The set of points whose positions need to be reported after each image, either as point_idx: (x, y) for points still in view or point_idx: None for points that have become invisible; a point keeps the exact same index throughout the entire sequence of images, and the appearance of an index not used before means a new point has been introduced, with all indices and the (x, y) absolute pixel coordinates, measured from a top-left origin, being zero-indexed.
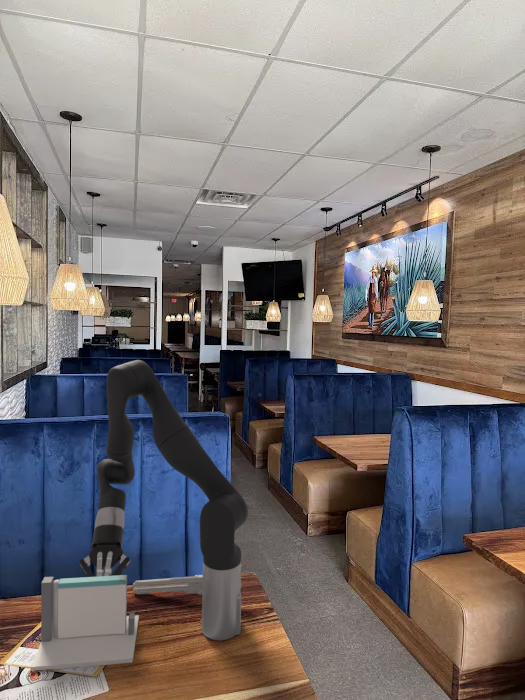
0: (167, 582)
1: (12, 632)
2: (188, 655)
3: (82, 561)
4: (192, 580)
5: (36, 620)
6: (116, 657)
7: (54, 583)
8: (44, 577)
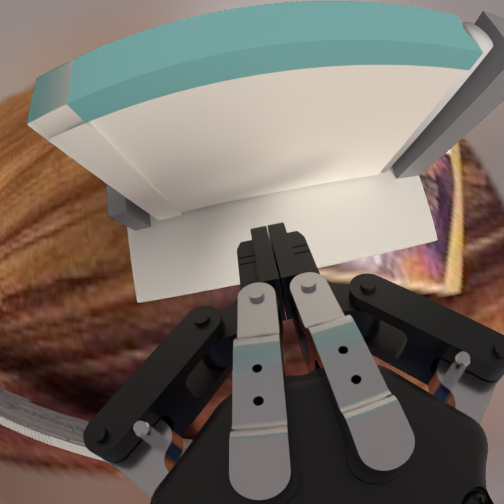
0: (62, 433)
1: (495, 208)
2: (20, 168)
3: (495, 348)
4: None
5: (474, 264)
6: None
7: (474, 28)
8: None
